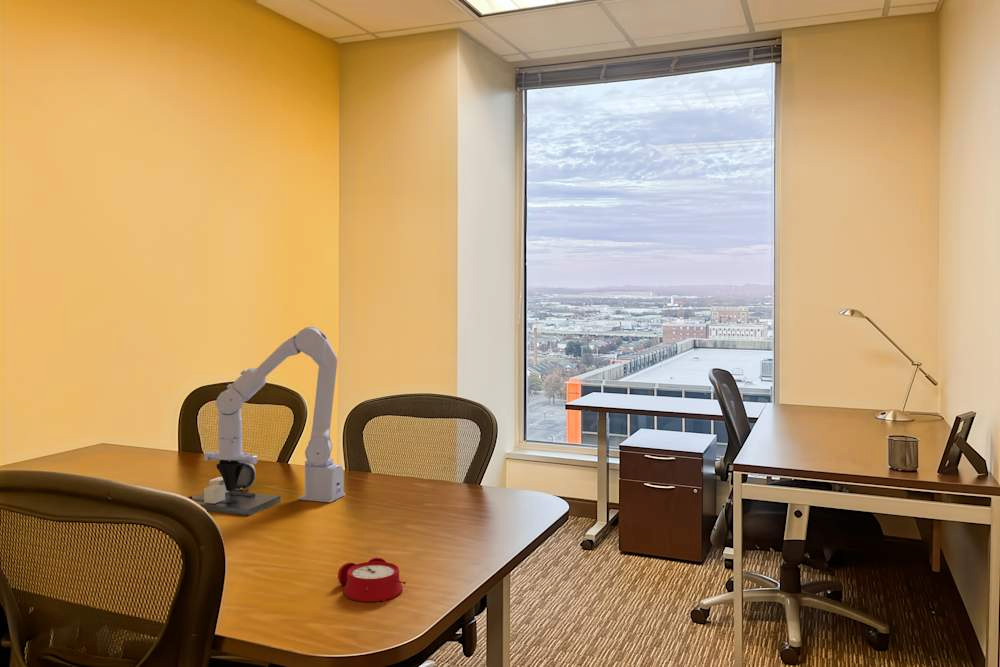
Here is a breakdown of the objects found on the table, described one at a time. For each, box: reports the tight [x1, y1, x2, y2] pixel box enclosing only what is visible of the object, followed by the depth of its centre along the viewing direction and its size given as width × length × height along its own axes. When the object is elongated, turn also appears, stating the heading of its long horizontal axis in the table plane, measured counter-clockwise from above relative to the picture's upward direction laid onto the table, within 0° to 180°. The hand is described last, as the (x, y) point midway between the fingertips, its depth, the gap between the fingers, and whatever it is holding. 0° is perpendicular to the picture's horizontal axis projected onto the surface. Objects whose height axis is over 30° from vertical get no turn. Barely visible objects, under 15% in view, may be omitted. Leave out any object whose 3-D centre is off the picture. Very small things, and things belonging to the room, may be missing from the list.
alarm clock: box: [337, 557, 407, 603], centre depth 142 cm, size 10×6×15 cm
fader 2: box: [203, 485, 225, 504], centre depth 193 cm, size 3×4×4 cm
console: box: [187, 490, 281, 516], centre depth 196 cm, size 20×13×2 cm, turn 72°
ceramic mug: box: [234, 463, 257, 491], centre depth 213 cm, size 11×8×8 cm
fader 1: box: [208, 476, 229, 493], centre depth 201 cm, size 3×4×4 cm
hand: (231, 490), depth 200 cm, fingers closed
